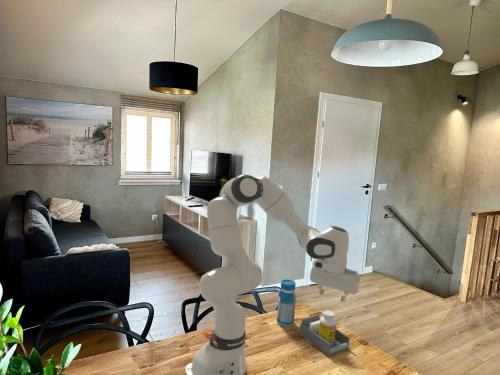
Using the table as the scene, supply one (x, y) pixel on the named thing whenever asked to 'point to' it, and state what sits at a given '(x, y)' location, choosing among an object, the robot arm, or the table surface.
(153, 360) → the table surface
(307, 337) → the pusher lane
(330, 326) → the supplement bottle
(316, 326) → the plate
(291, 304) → the beverage bottle
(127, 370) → the table surface
